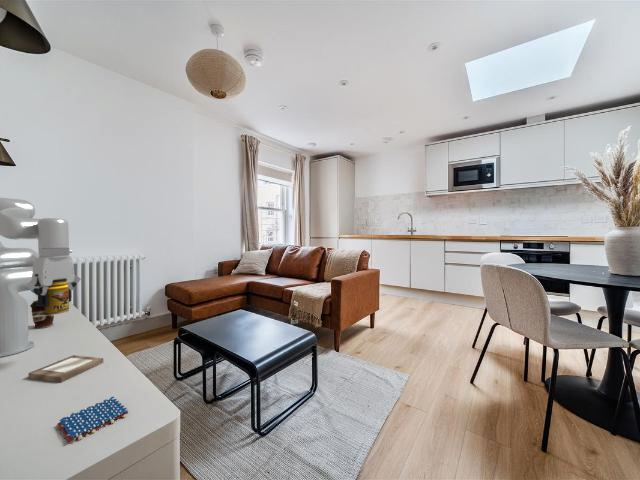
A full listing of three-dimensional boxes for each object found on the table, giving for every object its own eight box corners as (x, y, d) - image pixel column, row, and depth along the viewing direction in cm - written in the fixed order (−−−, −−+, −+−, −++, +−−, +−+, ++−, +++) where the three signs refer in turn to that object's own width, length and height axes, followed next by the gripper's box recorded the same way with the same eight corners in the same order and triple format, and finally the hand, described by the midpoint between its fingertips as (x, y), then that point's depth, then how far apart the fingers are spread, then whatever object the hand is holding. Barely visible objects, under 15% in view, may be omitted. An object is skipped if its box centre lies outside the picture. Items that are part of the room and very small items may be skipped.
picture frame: (28, 377, 78) (28, 372, 78) (73, 359, 89) (73, 354, 89) (61, 382, 75) (61, 376, 75) (103, 362, 87) (103, 357, 87)
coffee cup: (42, 330, 119) (41, 302, 119) (24, 330, 119) (24, 302, 119) (61, 323, 128) (60, 298, 128) (45, 323, 128) (44, 298, 128)
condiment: (67, 313, 89) (66, 279, 89) (32, 317, 84) (31, 281, 84) (73, 308, 95) (72, 276, 95) (40, 312, 90) (39, 279, 90)
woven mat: (55, 427, 58) (55, 419, 58) (113, 402, 66) (113, 394, 66) (68, 448, 52) (68, 439, 52) (129, 417, 61) (129, 409, 61)
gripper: (73, 252, 99) (74, 298, 99) (12, 255, 82) (14, 310, 82) (89, 251, 98) (90, 298, 98) (30, 254, 81) (32, 311, 81)
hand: (55, 303), depth 90 cm, fingers closed on condiment, 6 cm apart
